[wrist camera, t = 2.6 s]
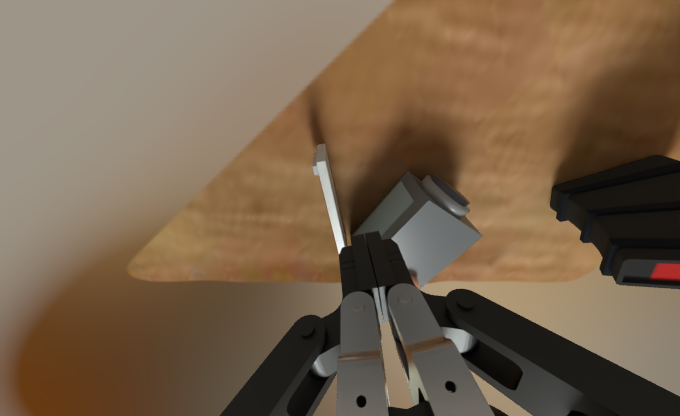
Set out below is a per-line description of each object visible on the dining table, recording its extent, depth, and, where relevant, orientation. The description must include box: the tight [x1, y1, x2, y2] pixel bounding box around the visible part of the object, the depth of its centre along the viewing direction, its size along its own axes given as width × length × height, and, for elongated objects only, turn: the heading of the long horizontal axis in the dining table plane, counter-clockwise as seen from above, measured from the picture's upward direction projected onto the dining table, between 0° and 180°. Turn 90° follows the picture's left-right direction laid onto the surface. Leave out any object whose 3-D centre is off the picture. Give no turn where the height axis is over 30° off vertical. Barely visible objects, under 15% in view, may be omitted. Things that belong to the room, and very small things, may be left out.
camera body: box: [350, 171, 482, 289], centre depth 25 cm, size 12×7×7 cm, turn 145°
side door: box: [313, 143, 348, 254], centre depth 24 cm, size 12×1×5 cm, turn 10°
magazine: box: [550, 155, 680, 289], centre depth 23 cm, size 4×13×15 cm, turn 109°
